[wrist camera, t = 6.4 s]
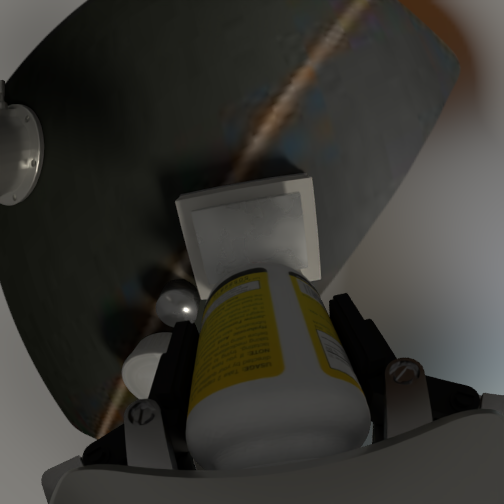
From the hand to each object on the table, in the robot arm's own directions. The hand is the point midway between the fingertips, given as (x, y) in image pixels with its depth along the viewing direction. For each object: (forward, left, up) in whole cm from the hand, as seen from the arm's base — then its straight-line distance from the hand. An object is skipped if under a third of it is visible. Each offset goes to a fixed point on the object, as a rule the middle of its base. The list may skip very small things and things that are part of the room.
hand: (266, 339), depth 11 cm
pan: (0, 0, -14) cm, 15 cm away
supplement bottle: (0, 0, -2) cm, 2 cm away
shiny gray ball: (+7, -9, -18) cm, 21 cm away
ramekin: (+16, -13, -18) cm, 28 cm away
